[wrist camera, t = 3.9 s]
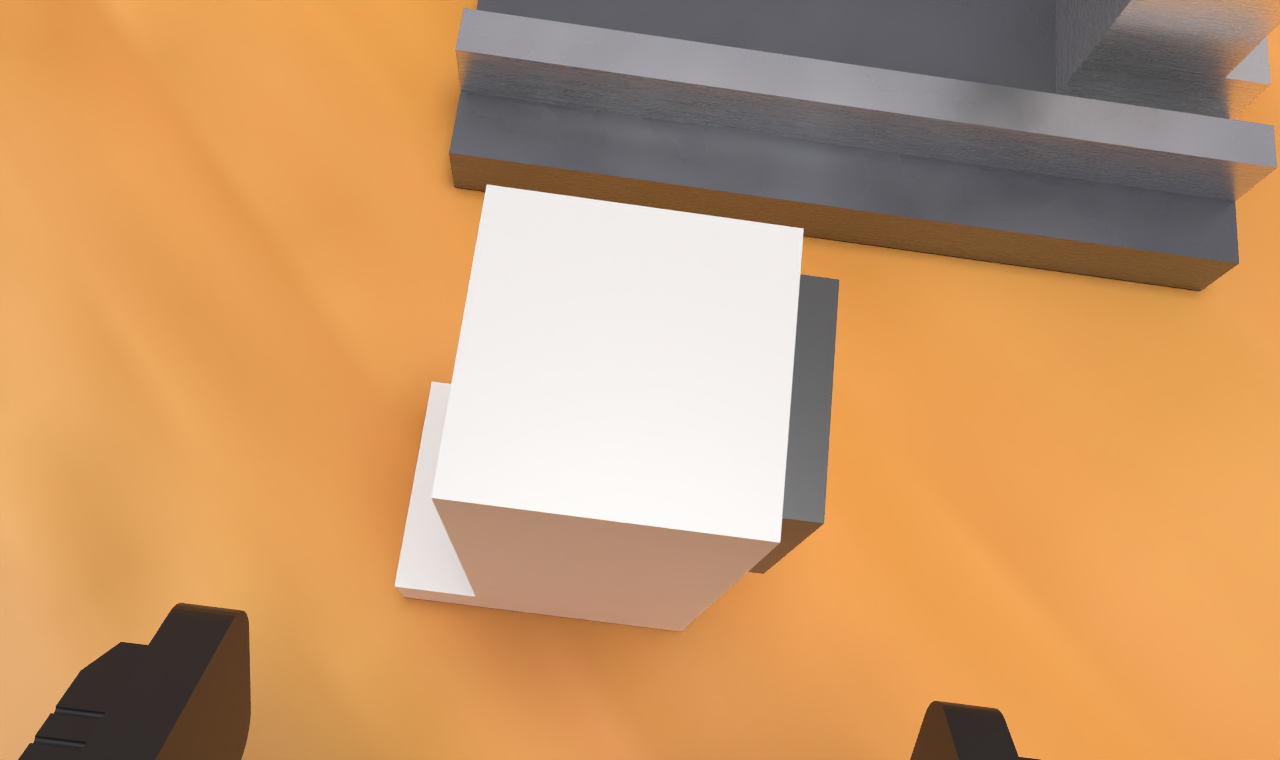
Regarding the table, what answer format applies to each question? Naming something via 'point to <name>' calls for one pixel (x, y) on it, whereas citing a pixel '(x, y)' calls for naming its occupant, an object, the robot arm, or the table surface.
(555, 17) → the rail
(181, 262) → the table surface
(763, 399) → the white stepped block
